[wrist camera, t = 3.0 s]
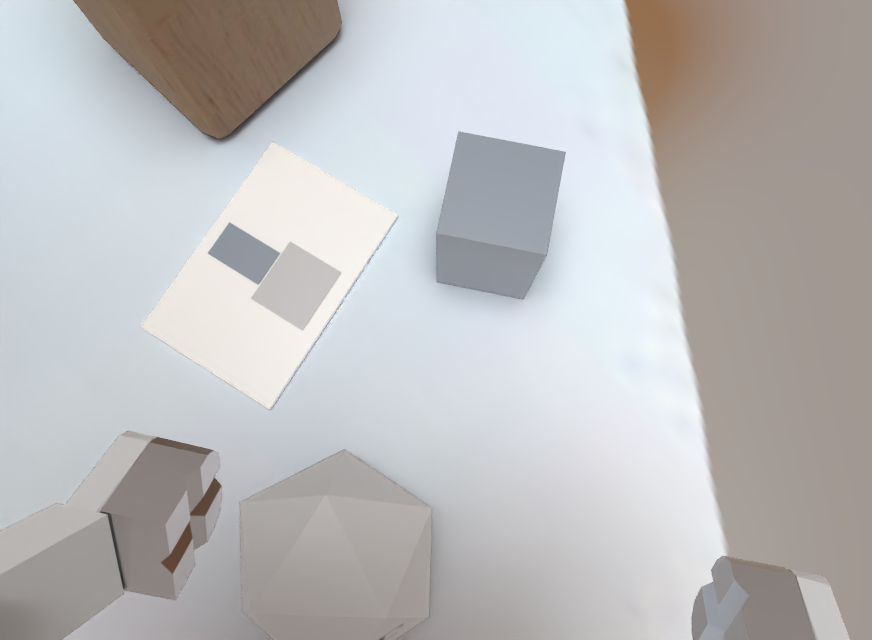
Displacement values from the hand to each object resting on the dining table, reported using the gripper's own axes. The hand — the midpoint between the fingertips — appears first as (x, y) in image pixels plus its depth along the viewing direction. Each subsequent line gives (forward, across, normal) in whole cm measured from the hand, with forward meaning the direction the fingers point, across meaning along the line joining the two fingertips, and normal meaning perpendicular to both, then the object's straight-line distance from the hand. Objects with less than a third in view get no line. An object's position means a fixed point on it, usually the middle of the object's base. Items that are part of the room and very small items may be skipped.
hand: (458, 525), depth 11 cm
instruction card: (+23, +11, +10) cm, 27 cm away
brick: (+25, 0, +8) cm, 27 cm away
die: (+14, +4, +20) cm, 24 cm away
